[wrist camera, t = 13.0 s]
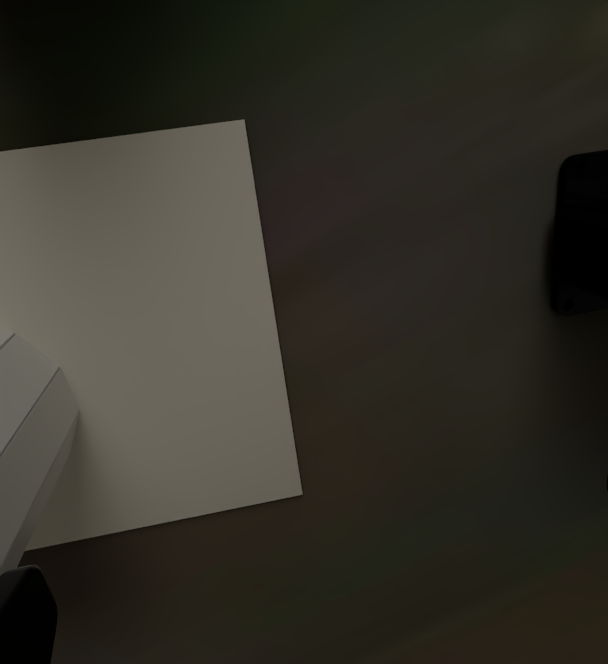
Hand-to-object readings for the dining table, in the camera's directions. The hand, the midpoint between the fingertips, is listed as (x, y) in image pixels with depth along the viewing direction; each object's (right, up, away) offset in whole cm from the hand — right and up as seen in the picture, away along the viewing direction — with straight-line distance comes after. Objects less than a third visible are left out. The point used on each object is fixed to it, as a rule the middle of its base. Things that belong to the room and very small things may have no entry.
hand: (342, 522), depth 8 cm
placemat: (-9, +2, +12) cm, 15 cm away
